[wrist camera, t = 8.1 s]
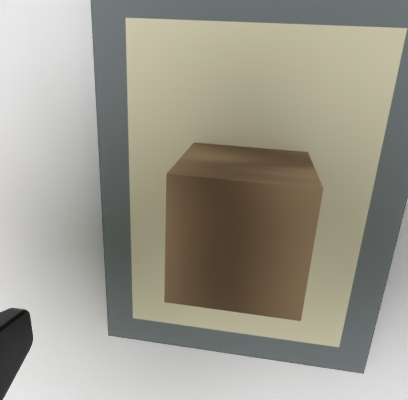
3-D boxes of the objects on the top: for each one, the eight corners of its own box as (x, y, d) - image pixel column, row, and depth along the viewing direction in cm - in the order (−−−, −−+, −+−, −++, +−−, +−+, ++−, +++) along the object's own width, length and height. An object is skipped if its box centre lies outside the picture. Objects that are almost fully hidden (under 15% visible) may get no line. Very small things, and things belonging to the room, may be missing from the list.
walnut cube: (307, 151, 17) (323, 189, 12) (292, 254, 18) (300, 321, 14) (193, 142, 17) (166, 173, 13) (189, 242, 19) (164, 302, 14)
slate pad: (453, -14, 14) (461, -17, 14) (360, 364, 21) (363, 374, 20) (95, -22, 16) (88, -25, 15) (112, 328, 22) (108, 336, 22)
